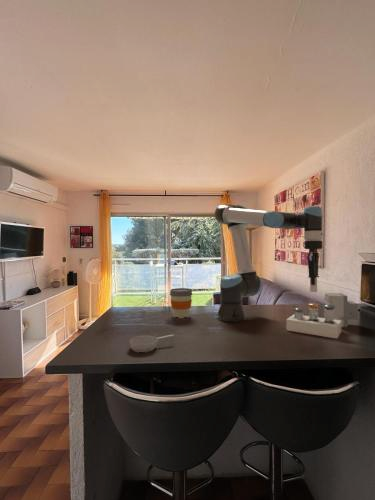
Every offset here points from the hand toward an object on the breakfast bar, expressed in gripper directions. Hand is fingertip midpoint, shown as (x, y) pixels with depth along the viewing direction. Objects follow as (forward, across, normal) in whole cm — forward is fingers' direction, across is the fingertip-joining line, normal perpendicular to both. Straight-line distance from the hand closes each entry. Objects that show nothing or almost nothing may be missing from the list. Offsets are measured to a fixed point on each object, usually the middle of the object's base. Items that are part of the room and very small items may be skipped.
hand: (313, 291), depth 128 cm
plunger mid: (+15, 0, 0) cm, 15 cm away
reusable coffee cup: (+18, -12, +68) cm, 71 cm away
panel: (+18, 0, 0) cm, 18 cm away
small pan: (+18, -57, +48) cm, 76 cm away
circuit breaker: (+18, +18, -9) cm, 27 cm away
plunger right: (+15, 0, -6) cm, 16 cm away
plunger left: (+17, 0, +7) cm, 19 cm away
